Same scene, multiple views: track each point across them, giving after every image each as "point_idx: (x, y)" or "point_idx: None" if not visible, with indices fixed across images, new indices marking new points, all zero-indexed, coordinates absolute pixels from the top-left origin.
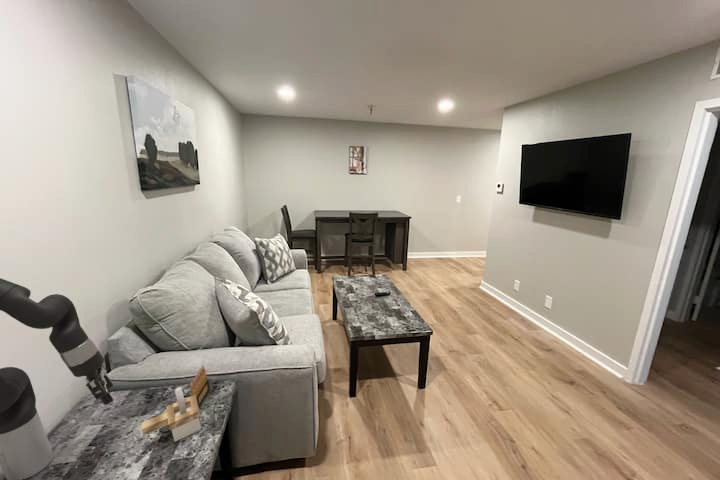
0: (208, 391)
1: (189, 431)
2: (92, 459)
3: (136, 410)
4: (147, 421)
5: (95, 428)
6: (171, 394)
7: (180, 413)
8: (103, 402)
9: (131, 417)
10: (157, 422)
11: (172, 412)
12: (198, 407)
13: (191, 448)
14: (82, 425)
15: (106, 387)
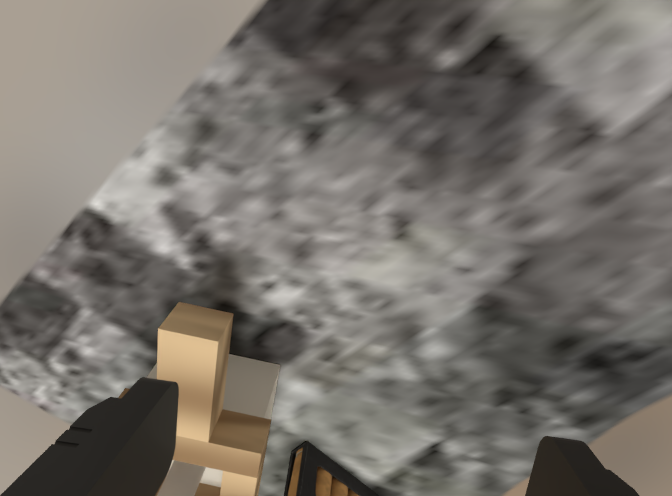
0: None
1: None
2: (349, 40)
3: (553, 286)
4: (205, 364)
5: (627, 87)
6: (509, 423)
7: (177, 463)
8: (118, 405)
9: (518, 256)
10: None
11: (185, 456)
12: (293, 462)
13: (92, 369)
14: None
15: (552, 473)
